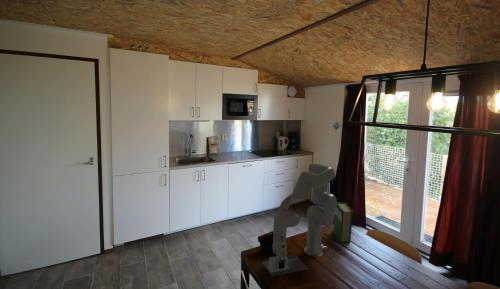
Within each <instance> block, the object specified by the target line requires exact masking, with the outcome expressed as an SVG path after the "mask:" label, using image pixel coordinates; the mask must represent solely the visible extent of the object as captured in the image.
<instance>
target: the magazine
mask: <svg viewBox="0 0 500 289" xmlns="http://www.w3.org/2000/svg"><path fill="white" fill-rule="evenodd" d="M257 242H258V243H259V248H260V253H261V254H262V253H264V254H273V247H272V244H273V230H271V231H269V232H267V233H263V234H261V235H258V236H257Z"/></svg>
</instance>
